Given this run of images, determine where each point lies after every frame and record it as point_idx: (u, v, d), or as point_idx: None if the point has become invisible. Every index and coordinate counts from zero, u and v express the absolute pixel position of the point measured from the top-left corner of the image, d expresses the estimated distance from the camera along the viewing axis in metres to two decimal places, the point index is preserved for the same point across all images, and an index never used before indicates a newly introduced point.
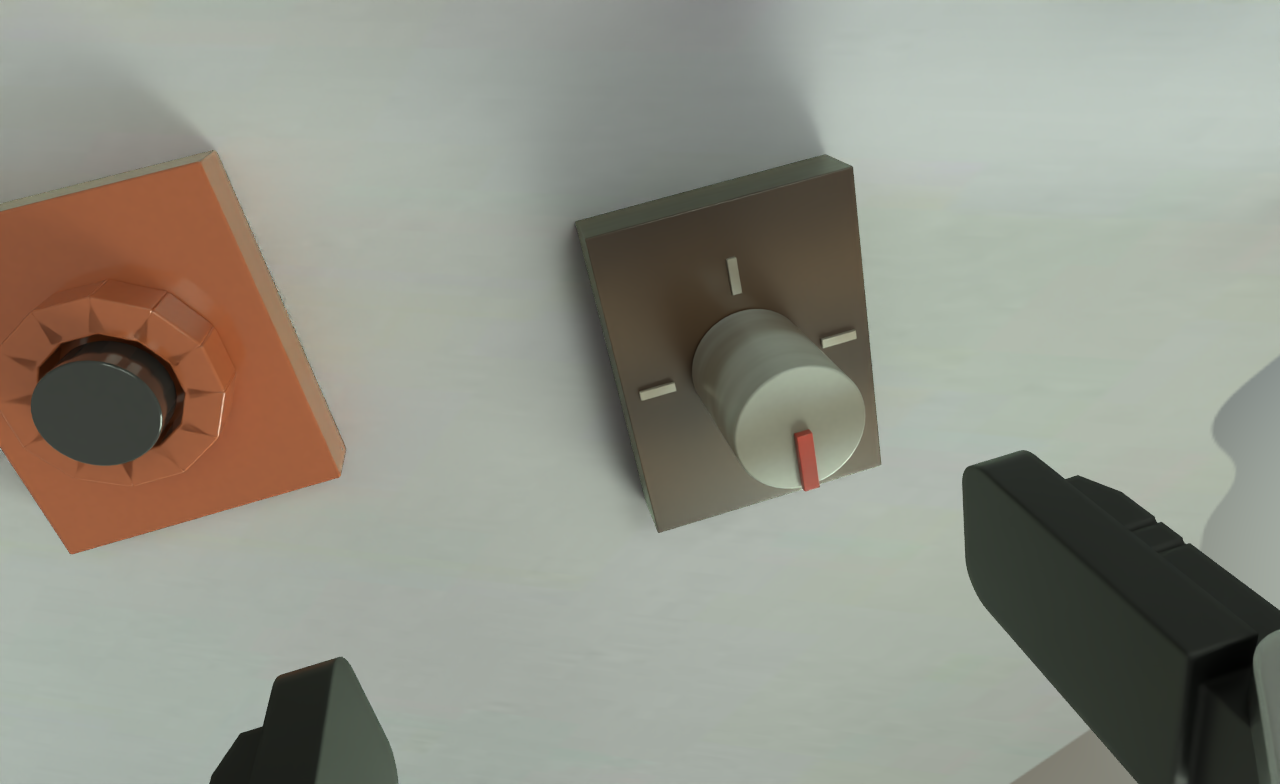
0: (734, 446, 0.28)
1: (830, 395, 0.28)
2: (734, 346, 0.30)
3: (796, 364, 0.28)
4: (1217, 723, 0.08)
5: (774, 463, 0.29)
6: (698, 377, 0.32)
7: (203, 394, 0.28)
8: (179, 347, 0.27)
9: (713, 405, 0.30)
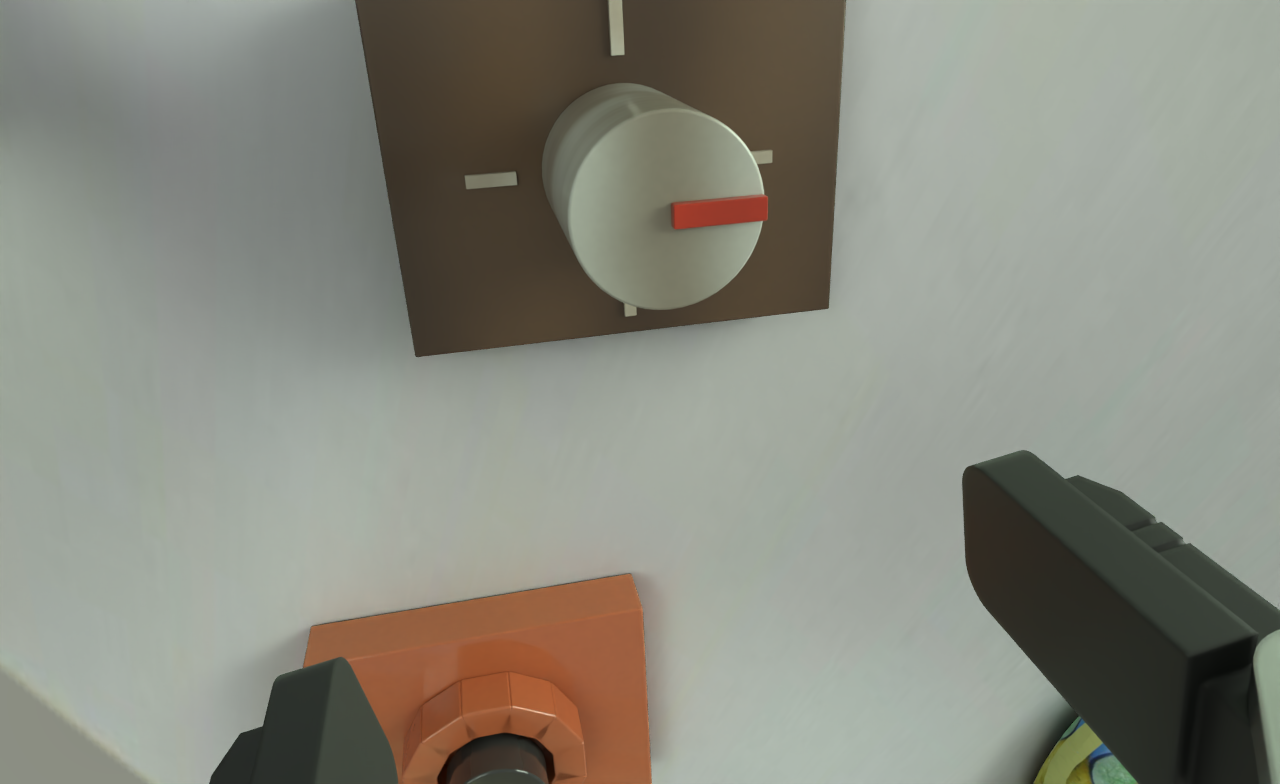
0: (668, 308, 0.21)
1: (625, 166, 0.19)
2: None
3: (566, 213, 0.19)
4: (1217, 723, 0.08)
5: (711, 256, 0.20)
6: None
7: (509, 721, 0.30)
8: (460, 730, 0.30)
9: None
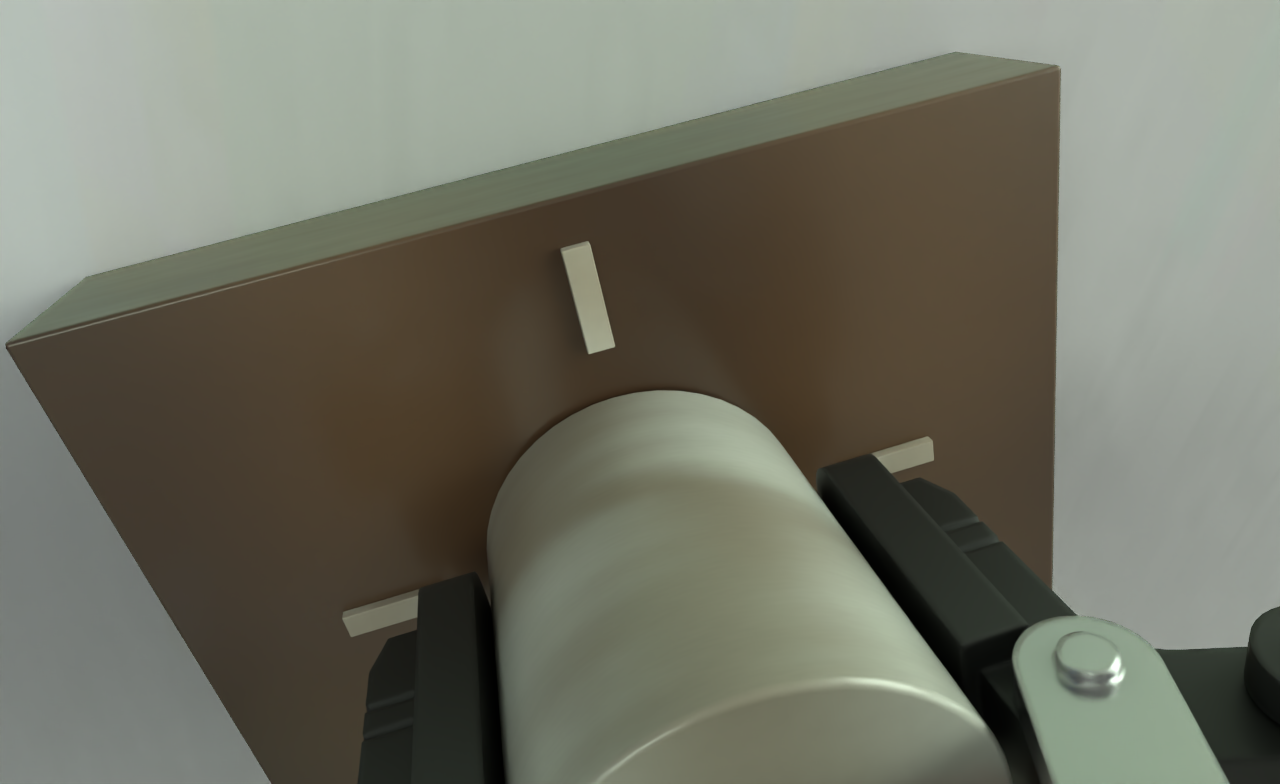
0: None
1: None
2: None
3: None
4: (993, 707, 0.08)
5: None
6: None
7: None
8: None
9: None
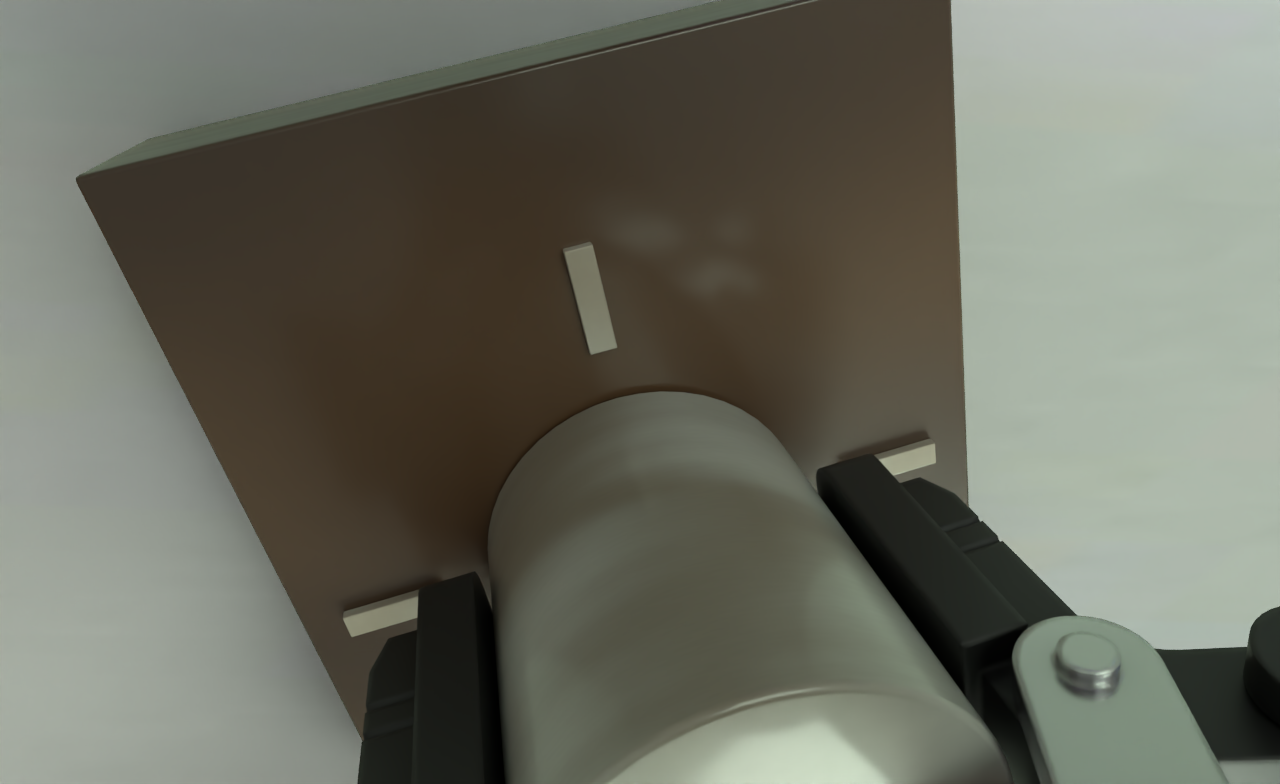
0: None
1: None
2: None
3: None
4: (993, 707, 0.08)
5: None
6: None
7: None
8: None
9: None
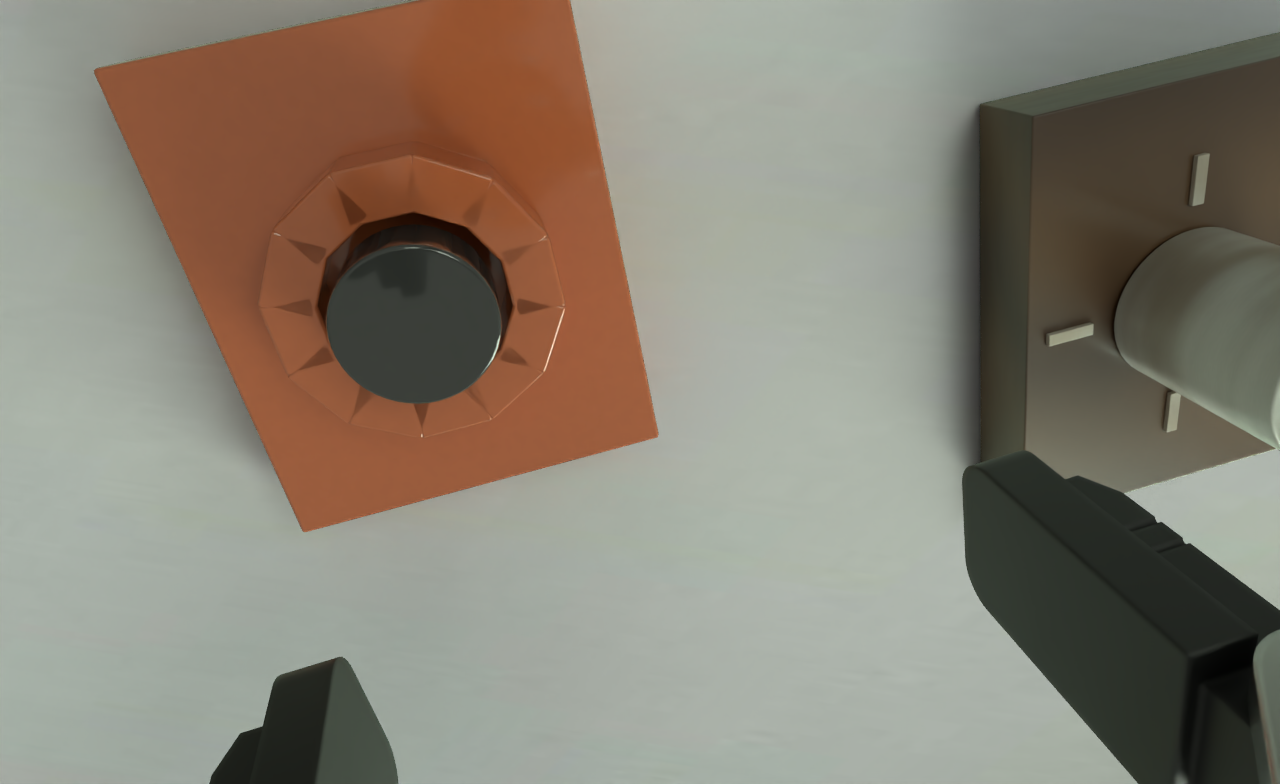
0: None
1: None
2: (1176, 382, 0.24)
3: (1268, 392, 0.20)
4: (1217, 723, 0.08)
5: None
6: None
7: (537, 308, 0.20)
8: (519, 238, 0.19)
9: None
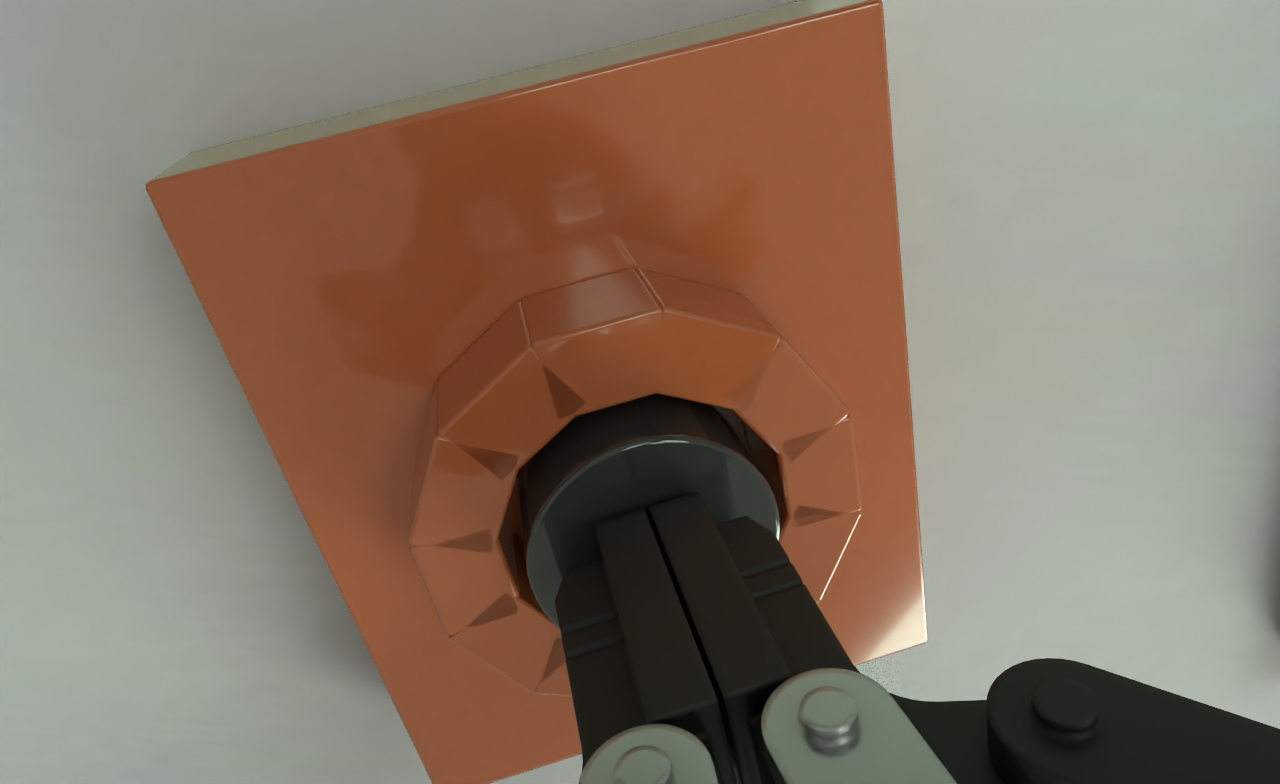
0: None
1: None
2: None
3: None
4: (760, 758, 0.08)
5: None
6: None
7: (823, 517, 0.13)
8: (810, 420, 0.12)
9: None
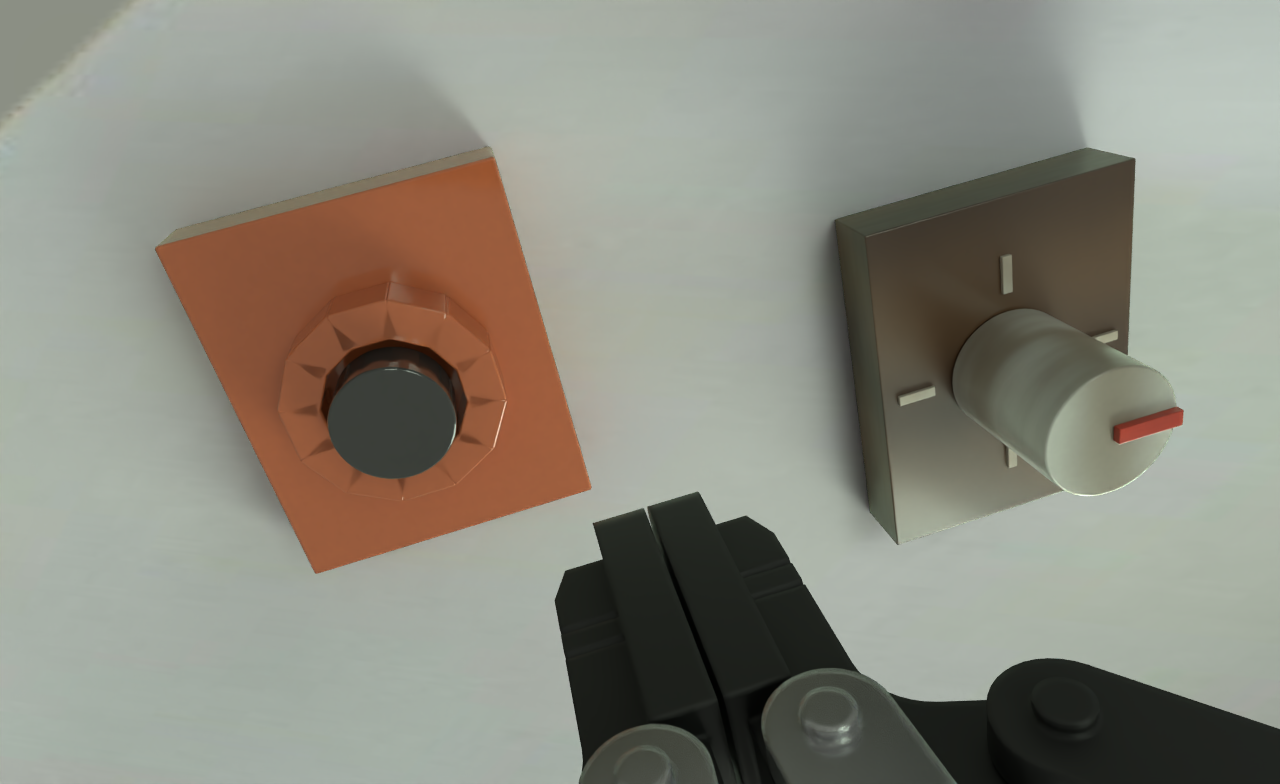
0: (1105, 492, 0.28)
1: (1086, 409, 0.26)
2: (994, 433, 0.30)
3: (1041, 445, 0.27)
4: (759, 757, 0.08)
5: (1139, 453, 0.28)
6: None
7: (485, 402, 0.27)
8: (468, 353, 0.26)
9: None
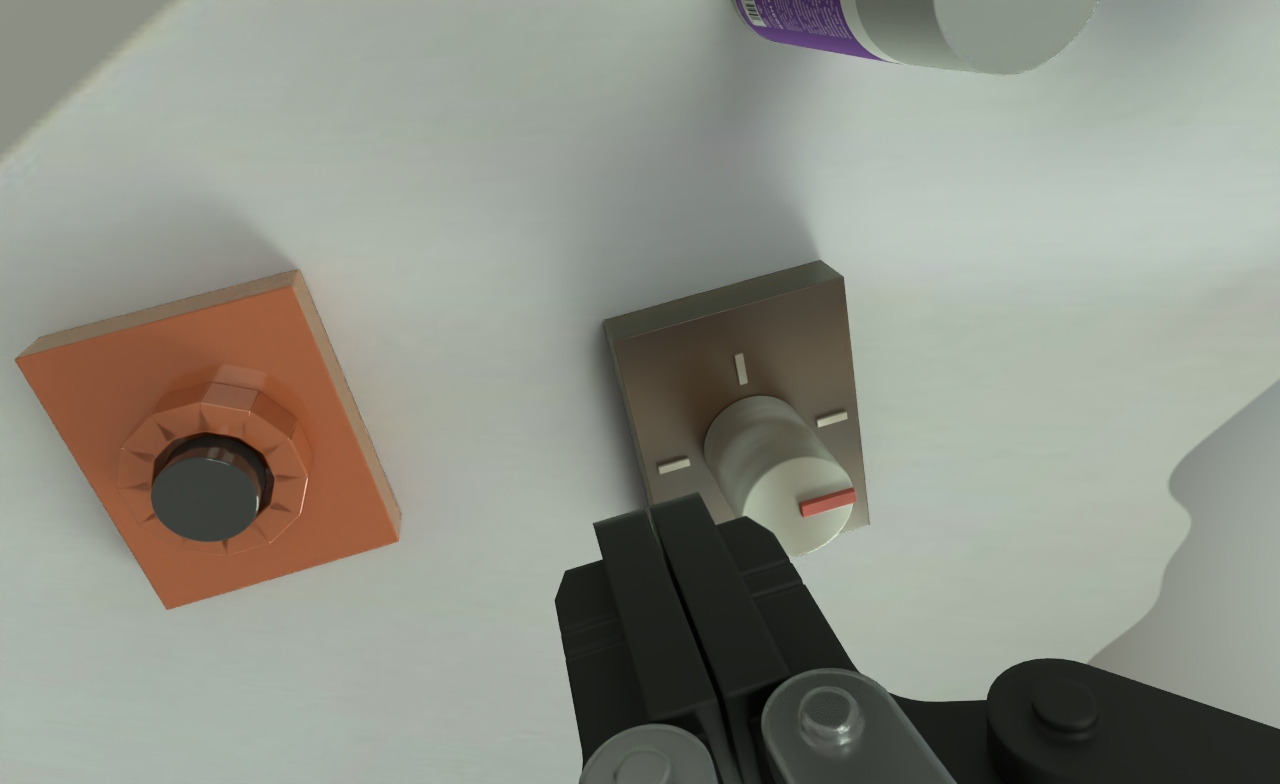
0: (803, 553, 0.35)
1: (772, 491, 0.33)
2: None
3: None
4: (759, 757, 0.08)
5: (825, 523, 0.34)
6: None
7: (290, 479, 0.33)
8: (271, 441, 0.32)
9: None
